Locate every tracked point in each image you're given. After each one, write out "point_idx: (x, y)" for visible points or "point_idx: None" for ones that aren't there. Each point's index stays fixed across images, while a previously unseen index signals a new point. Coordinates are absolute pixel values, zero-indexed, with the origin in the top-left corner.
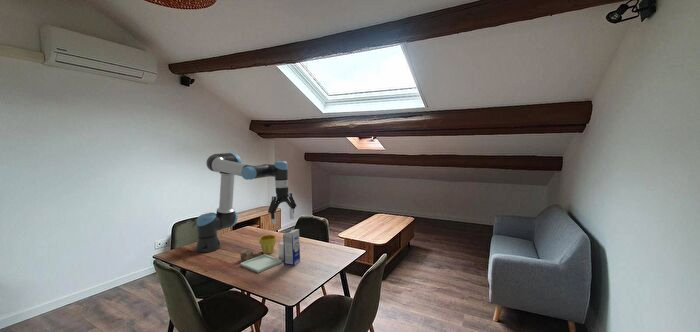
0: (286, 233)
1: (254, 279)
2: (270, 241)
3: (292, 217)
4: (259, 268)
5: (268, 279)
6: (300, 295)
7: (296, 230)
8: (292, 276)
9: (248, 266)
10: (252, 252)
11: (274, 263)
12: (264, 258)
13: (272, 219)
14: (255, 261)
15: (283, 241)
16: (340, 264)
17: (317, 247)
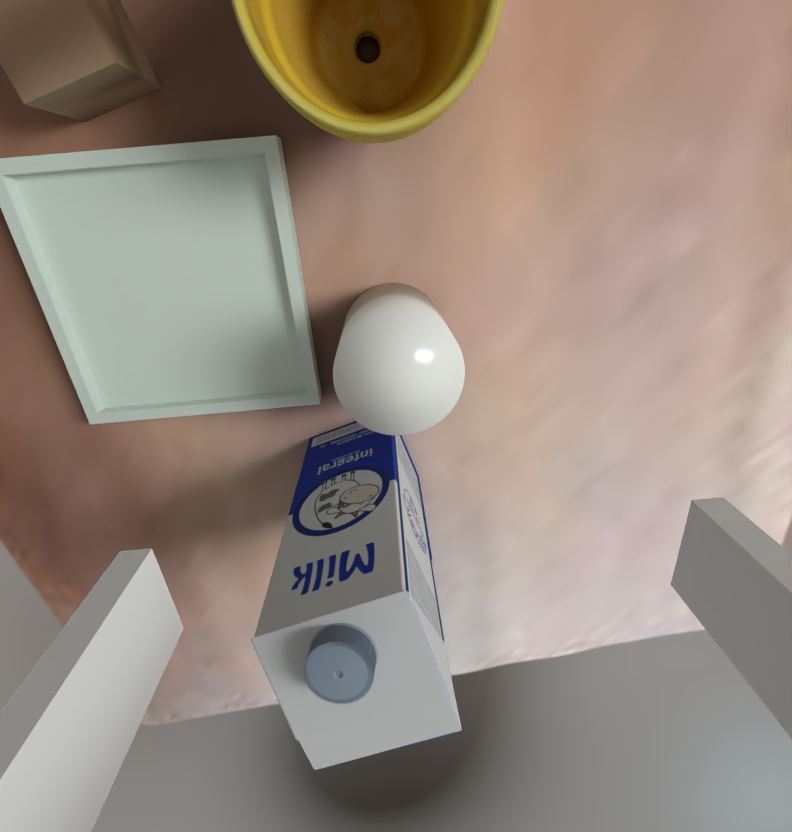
0: (283, 679)
1: (49, 473)
2: (342, 136)
3: (700, 613)
4: (123, 375)
5: (127, 529)
6: (190, 714)
7: (397, 747)
8: (256, 588)
9: (38, 296)
10: (120, 71)
11: (242, 410)
12: (240, 220)
13: (51, 664)
14: (142, 214)
15: (274, 570)
16: (528, 649)
17: (707, 374)
